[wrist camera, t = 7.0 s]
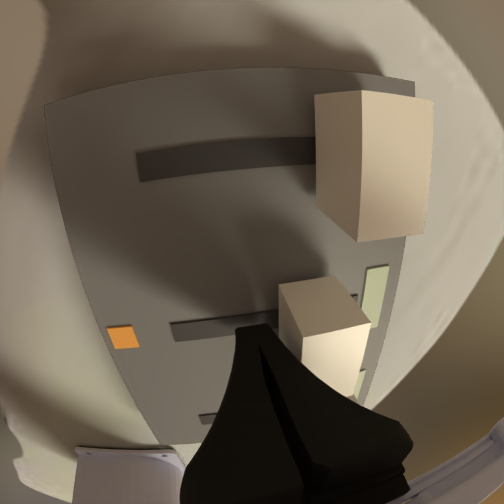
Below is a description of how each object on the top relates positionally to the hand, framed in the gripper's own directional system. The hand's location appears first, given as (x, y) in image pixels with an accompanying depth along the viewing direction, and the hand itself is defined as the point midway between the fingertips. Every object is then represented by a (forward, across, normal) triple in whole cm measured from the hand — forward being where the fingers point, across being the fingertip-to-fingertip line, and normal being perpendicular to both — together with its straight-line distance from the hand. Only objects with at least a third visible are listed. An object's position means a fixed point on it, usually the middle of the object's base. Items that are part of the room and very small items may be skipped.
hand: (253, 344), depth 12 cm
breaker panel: (+3, 0, 0) cm, 3 cm away
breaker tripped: (+1, -3, 0) cm, 3 cm away
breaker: (+1, -4, -7) cm, 8 cm away
